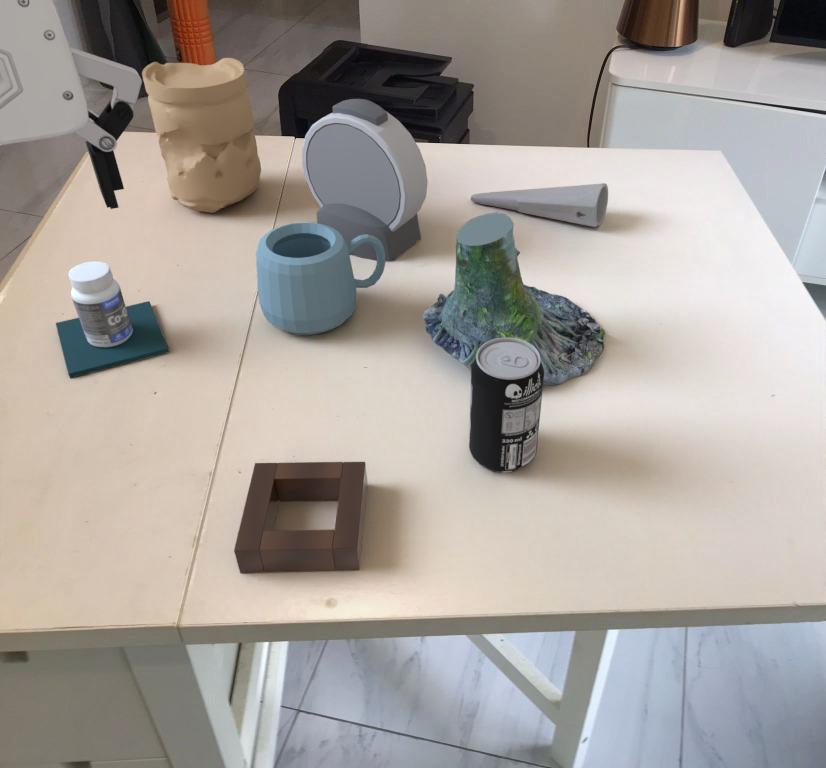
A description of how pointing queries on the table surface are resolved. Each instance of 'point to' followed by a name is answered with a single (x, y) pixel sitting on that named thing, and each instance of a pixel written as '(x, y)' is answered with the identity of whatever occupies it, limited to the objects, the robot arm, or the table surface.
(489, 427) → the beverage can
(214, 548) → the table surface
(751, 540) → the table surface
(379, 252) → the mug
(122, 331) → the pill bottle
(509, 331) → the tree stump
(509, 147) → the table surface
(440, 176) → the table surface
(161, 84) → the container
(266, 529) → the peg block
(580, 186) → the long tapered cone
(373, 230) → the alarm clock
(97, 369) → the mat
